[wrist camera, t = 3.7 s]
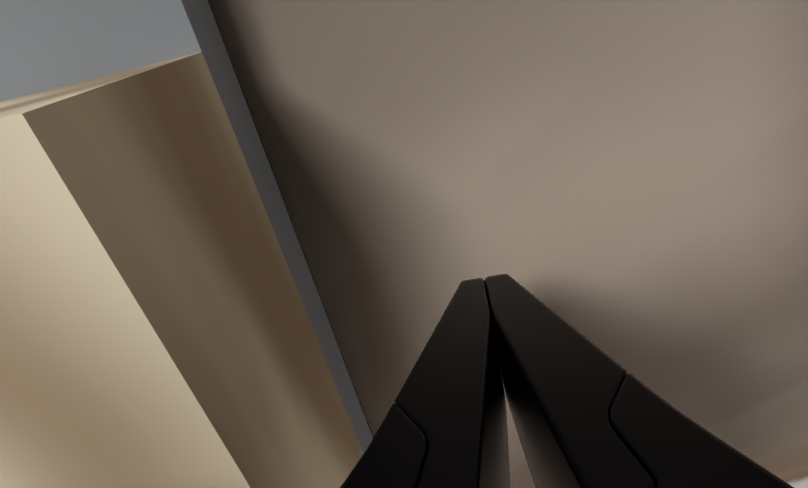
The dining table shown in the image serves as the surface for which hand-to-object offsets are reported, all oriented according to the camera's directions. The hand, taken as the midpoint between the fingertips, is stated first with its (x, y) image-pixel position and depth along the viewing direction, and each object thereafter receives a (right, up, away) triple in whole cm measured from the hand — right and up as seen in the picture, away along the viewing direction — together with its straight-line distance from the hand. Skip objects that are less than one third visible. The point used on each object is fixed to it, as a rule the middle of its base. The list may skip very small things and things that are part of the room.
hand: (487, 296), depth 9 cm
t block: (-8, -1, +2) cm, 8 cm away
